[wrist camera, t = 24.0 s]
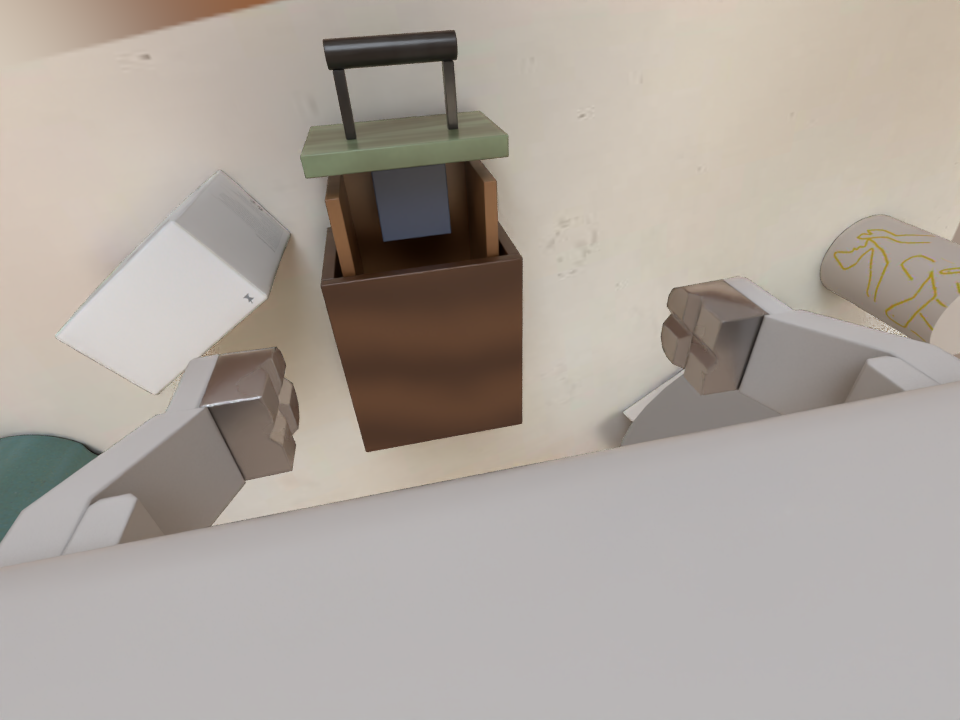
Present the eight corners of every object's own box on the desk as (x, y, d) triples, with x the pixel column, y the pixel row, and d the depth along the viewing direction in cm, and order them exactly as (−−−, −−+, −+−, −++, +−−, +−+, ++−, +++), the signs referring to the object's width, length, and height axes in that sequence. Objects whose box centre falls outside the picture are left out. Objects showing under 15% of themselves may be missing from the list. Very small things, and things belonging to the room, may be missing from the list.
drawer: (289, 37, 29) (271, 46, 23) (476, 24, 31) (507, 29, 25) (352, 305, 40) (352, 360, 34) (488, 285, 42) (511, 334, 35)
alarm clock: (621, 449, 60) (675, 540, 49) (596, 425, 56) (650, 518, 46) (796, 332, 54) (897, 407, 44) (780, 297, 50) (887, 370, 40)
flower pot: (-97, 501, 43) (-286, 709, 30) (-28, 381, 38) (-219, 569, 26) (108, 552, 52) (27, 730, 39) (186, 460, 47) (123, 629, 34)
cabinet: (327, 227, 37) (320, 285, 29) (489, 207, 39) (523, 257, 31) (364, 378, 46) (366, 452, 38) (495, 356, 47) (522, 424, 40)
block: (369, 152, 33) (370, 170, 29) (435, 145, 33) (445, 163, 30) (380, 218, 35) (383, 242, 32) (442, 210, 36) (451, 233, 32)
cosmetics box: (216, 163, 33) (169, 217, 25) (292, 232, 37) (274, 300, 28) (119, 260, 35) (46, 339, 27) (200, 316, 39) (159, 401, 31)
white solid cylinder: (870, 200, 46) (1005, 252, 36) (912, 234, 49) (1046, 289, 40) (804, 274, 49) (912, 339, 40) (848, 300, 53) (957, 366, 43)
